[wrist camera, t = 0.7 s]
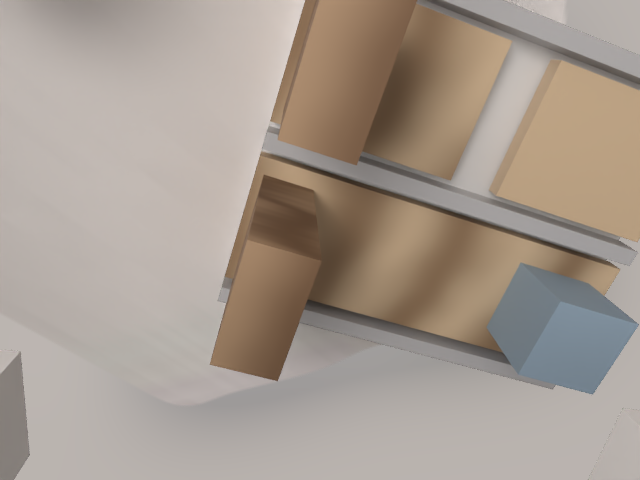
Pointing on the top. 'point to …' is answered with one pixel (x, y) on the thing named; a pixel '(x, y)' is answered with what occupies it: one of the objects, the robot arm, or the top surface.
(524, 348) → the block
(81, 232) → the top surface
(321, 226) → the tan wooden l-shaped piece
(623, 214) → the board
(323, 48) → the wooden bookend
